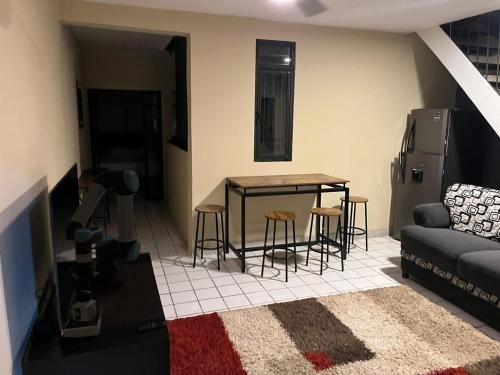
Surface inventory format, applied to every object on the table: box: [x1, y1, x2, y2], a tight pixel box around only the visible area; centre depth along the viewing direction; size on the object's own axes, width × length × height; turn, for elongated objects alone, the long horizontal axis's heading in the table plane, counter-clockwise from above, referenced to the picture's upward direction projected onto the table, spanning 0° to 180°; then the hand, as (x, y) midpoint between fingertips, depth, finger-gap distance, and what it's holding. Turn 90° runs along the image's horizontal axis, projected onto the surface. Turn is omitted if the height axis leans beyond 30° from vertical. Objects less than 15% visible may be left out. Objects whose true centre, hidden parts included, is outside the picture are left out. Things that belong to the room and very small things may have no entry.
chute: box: [62, 305, 103, 338], centre depth 184 cm, size 24×15×4 cm, turn 16°
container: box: [71, 290, 97, 322], centre depth 188 cm, size 8×8×13 cm
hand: (86, 305), depth 194 cm, fingers closed
